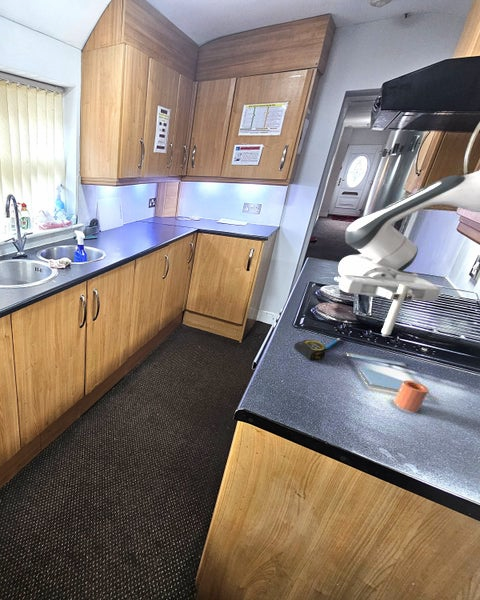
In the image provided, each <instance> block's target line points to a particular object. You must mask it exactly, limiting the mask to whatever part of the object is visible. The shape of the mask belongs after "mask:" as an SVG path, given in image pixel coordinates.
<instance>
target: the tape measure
mask: <svg viewBox="0 0 480 600" xmlns="http://www.w3.org/2000/svg"><path fill="white" fill-rule="evenodd" d="M293 348H294V350H295V351H297V352H298V353H300V354H301V355H302V356H304V357H305V358H306V359H308V360H309V361H310V362H311V361H314V360H321V359H323V358H324V357H325V356H326V352H327V349H326V345H324V343H322V342H320V341H317V340H315V339H303V340H301V341H297V342H295V343H294V345H293Z"/></svg>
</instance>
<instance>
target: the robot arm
mask: <svg viewBox="0 0 480 600" xmlns="http://www.w3.org/2000/svg"><path fill="white" fill-rule="evenodd" d="M436 205H437V206H438V205H444V206H451V207H456V208H459V209H462V210H465V211H470V212H475V213H480V169H479V170H477V171H474V172H471V173H468V174H464V175H458V174H453V175H449V176H446V177H443V178H441V179H439V180H436V181H434V182H432V183H430V184H428V185H426V186H424V187H421V188H420V189H417V190H416V191H413V192H412V193H409V194H407V195H406V196H404V197H401V198H400V199H398V200H396V201H394V202H392V203H390V204H388V205H386V206H384V207H382V208H380V209H378V210H376V211H373V212H371V213H368V214H365V215H363V216H361V217H359V218H357V219H356V220H354V221H353V222H352V223H350V224H349V225H348V226H347V227H346V229H345V235H344V241H345V243H346V244H347V245H349V246H350V247H352V248H353V249H354V250H357V251H358V252H359V254H350V255H346V256H344V257H342V259H341V260H340V261H339V263H338V267H337V271H338V274H339V276H335V277H334V278H333V280H334V281H335V282H337V283H338V287H339V289H340V291H342V292H344V293H347V294H354V295H364V296H366V297H371V298H379V297H383V298H386V299H388V300H392V301H393V300H397V299H398V296H399V293H397V290H398V287H399V285H400V284H407V285H410V286H409V289H408V291H407V294H406V296H405V299H404V301H403V302H411V303H412V302H414V301H423V302H431V303H432V302H435V301H437V299H438V298H439V296H440V294H441V287H440V286H438V285H436V284H434V283H433V282H431V281H429V280H427V279H424V278H422V277H419V274H417V273H415V272H411V271H406V269H407V268H409V267H410V266H411V265H412V264H413V263H414V261H415V260H416V257H417V256H418V251H419V249H418V248H419V247H418V246H417V245H416V244H415V243H414V242H412V241H411V240H410V239H409V238H408V237H407V236H406V235H404V234H402V233H401V232H400V231H399V230H398V229H397V228H395V227H394V226H393V225H392V224H394V223H397V221H400V220H402V219H404V218H406V217H408V216H410V215H413V214H415V213H416V212H419V211H421V210H423V209H425V208H428V207H432V206H436Z"/></svg>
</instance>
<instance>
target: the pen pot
mask: <svg viewBox="0 0 480 600" xmlns="http://www.w3.org/2000/svg"><path fill="white" fill-rule="evenodd" d="M402 381H403V383H402V385H401V387H400V389H399V391H398V392H396V395H395V398H393V402H394V404H395V405H396V406H397V407H399V408H400V409H403V410H405V411H408V412H412V413H415V412H418V411H420V409H421V408H422V405H423V403H424V401H425V399H427V398H426V396H427V394H428V393H429V392H430V389H429V388H428V387H426V385H424V384H421V383H419V382H417V381H413V380H402Z"/></svg>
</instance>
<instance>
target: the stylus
mask: <svg viewBox="0 0 480 600" xmlns="http://www.w3.org/2000/svg"><path fill="white" fill-rule="evenodd" d="M409 286H410V285H407V284H400V285H399V287H398V290H397V293H399V296H398V299H397V300H392V303H391V306H390V308H389V310H388V314H387V316H386V319H385V321H384V323H383V327H382V328H381V336H382V337H385V338H388V337H389V335H391V334H392V332H393V330H394V326H395V323H396V321H397V319H398V316H399V314H400V311H401V309H402V307H403V303H404V302H405V301H404V299H405V296H406V294H407V291H408V289H409Z"/></svg>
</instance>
